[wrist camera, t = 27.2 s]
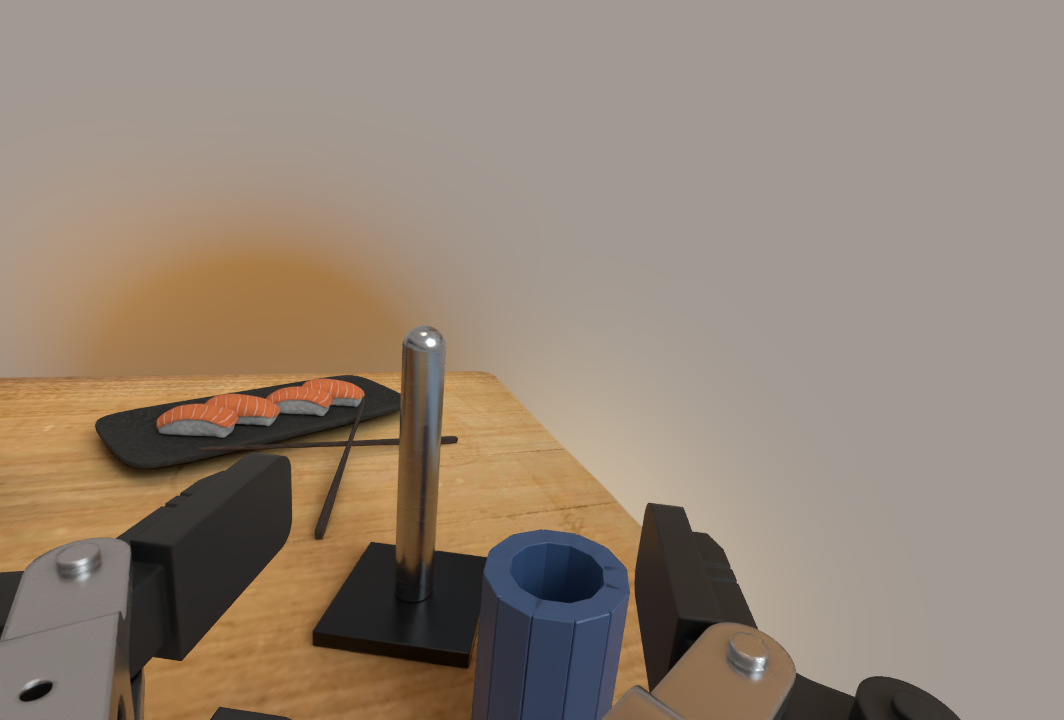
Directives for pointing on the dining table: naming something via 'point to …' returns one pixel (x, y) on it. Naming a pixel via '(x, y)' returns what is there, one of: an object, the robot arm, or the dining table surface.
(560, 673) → the blue fluted sleeve
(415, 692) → the dining table surface
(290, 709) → the dining table surface
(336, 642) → the peg on square base
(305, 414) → the sushi plate
